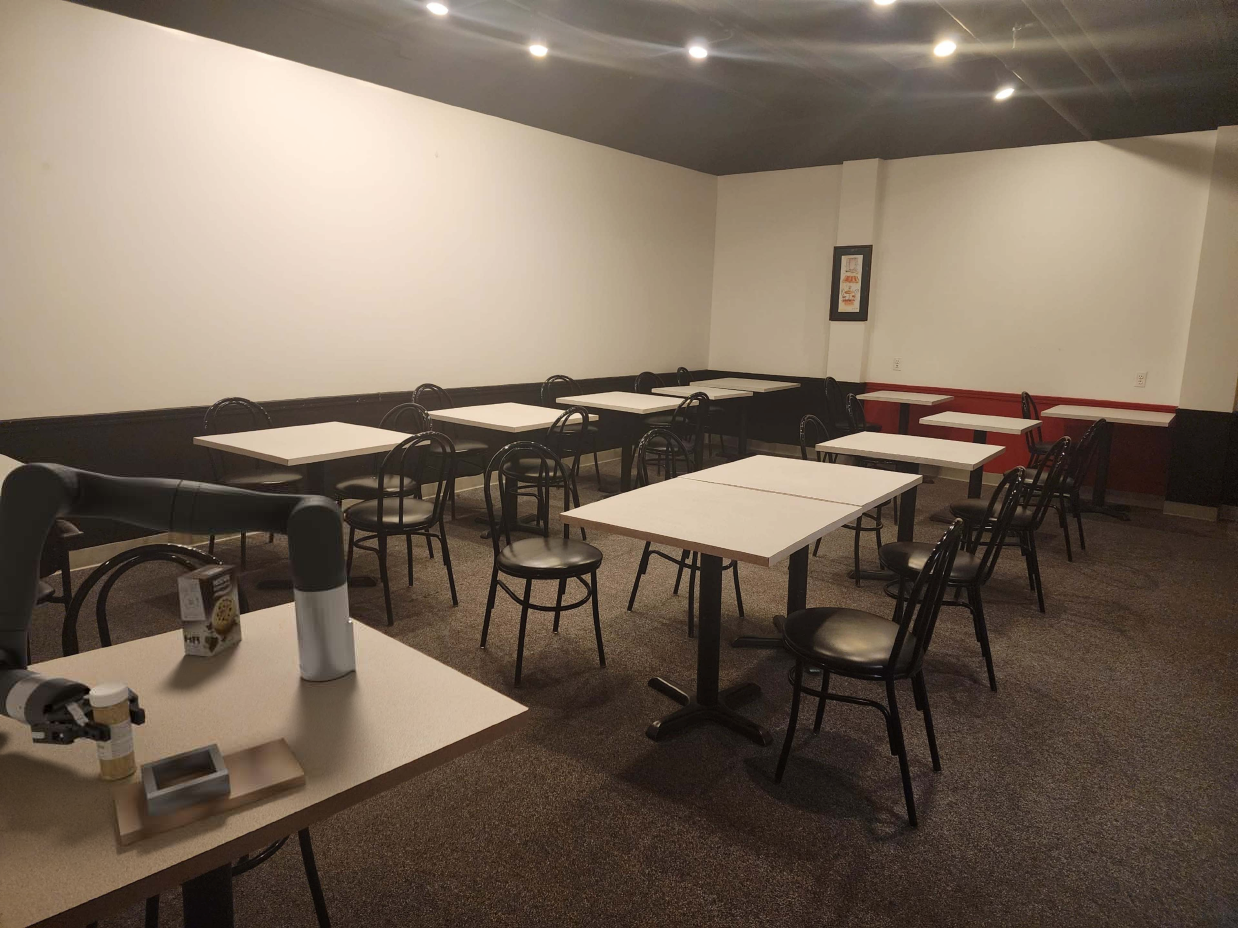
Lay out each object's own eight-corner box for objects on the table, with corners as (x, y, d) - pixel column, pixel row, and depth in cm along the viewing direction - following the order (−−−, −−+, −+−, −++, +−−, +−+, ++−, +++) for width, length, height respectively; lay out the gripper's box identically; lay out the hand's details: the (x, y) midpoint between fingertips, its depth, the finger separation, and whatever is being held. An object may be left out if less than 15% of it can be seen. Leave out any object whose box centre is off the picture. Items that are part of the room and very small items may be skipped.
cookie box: (212, 657, 148) (204, 579, 145) (183, 654, 150) (175, 576, 147) (243, 639, 157) (236, 564, 154) (216, 636, 158) (209, 562, 156)
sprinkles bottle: (96, 773, 110) (84, 687, 107) (131, 760, 113) (120, 676, 111) (106, 785, 107) (94, 697, 104) (142, 771, 110) (131, 686, 108)
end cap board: (284, 746, 117) (282, 719, 116) (305, 783, 107) (303, 754, 107) (114, 798, 104) (110, 769, 103) (121, 845, 94) (117, 813, 94)
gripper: (-8, 700, 107) (69, 725, 100) (95, 660, 120) (169, 680, 113) (0, 749, 108) (76, 776, 102) (100, 704, 121) (174, 726, 114)
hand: (125, 725), depth 107 cm, fingers closed on sprinkles bottle, 4 cm apart
